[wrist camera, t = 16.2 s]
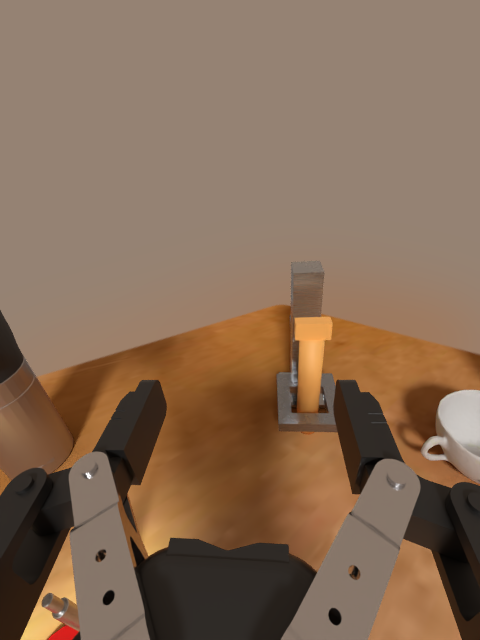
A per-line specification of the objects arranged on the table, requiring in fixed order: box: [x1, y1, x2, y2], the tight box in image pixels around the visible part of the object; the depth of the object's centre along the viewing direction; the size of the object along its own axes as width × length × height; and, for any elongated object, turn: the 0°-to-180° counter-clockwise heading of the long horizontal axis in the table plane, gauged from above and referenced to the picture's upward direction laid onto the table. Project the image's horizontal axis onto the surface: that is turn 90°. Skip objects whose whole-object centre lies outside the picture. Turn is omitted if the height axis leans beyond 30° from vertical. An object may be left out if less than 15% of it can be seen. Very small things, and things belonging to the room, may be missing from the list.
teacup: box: [421, 390, 480, 484], centre depth 37 cm, size 15×12×8 cm
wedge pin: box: [294, 317, 332, 434], centre depth 41 cm, size 4×3×20 cm
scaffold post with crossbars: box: [277, 261, 338, 432], centre depth 48 cm, size 28×9×24 cm, turn 176°
